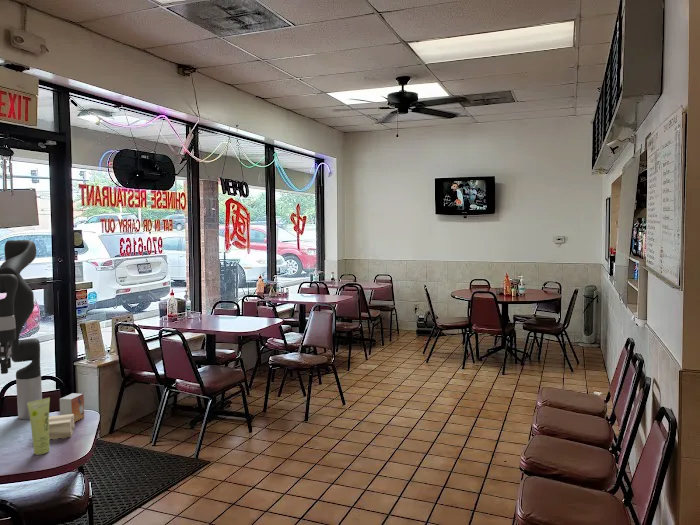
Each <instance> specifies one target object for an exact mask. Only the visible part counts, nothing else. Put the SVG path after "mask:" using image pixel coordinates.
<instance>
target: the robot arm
mask: <svg viewBox="0 0 700 525" xmlns="http://www.w3.org/2000/svg"><path fill="white" fill-rule="evenodd" d="M36 257H37V246H36V244H35V242H34V241H33V240H31V239H9V240H6V241H5V244H4V261H3V262H2V263H1V265H0V294H6V295H5V297H3V298H0V374H1V375H6V374H8V373H9V369H11V368H12V362H13V363H22V362H23V363H24V362H30V363H29V364H28V365H26V366H24V367H22V368H19V369H18V370H16V373H15V383H16V398H17V399H16V401H17V402H16V403H17V404H16V405H17V417H18V419H20V420H30V416H29V410H28V406H27V402H32V401H36V400H41V399H43V392H42V389H43V388H42V375H41V374H42V372H41V344H40V340H39V339H38V338H28V339H27V338H24V339H20V334H21V331H22V329H23V328H24V326H25V324H26V323H27V321H28V320H29V318H30V316H31V315H32V314H33V312H34V309H35V299H34V298H35V297H34V291H33V290H32V288H31V286H30V285H29V284H28V283H27V281H26V280H25V279H24V278H23V277H22V275H21V272H22V271H23V270H25V268H27V267H28V266H29V265H30V264H31V263H32V262H34V260H35V259H36Z"/></svg>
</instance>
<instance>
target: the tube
mask: <svg viewBox="0 0 700 525" xmlns="http://www.w3.org/2000/svg"><path fill="white" fill-rule="evenodd" d="M50 402H51V397H45V398H42V399H41V400H36V401H32V402H27V406H28V410H29V416H30V419H29V421H30V427H31V435H32V445H33V453H34V454H35V455H38V456H40V455H45V454H47V453H48V452H50V440H49V416H50V404H51V403H50Z"/></svg>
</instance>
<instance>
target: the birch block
mask: <svg viewBox="0 0 700 525" xmlns="http://www.w3.org/2000/svg"><path fill="white" fill-rule="evenodd" d="M73 430H74V431H75V423H74V414H67V415H49V441H51V440H50V439H53V440H59V439H58V438H62V439H68V438H67V437H70V438H72V436H73V433H74V431H73ZM71 435H72V436H71Z"/></svg>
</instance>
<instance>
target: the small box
mask: <svg viewBox="0 0 700 525" xmlns="http://www.w3.org/2000/svg"><path fill="white" fill-rule="evenodd" d="M84 398H85V397H84V393H76V392H75V393H74V392H72V393H70V394H68V395H65V396H63V397H61V398H59V414H60V415H67V414H74V424H75V423H77V422H78V420H79V421H81V420H83V419H85V401H84V400H85V399H84ZM82 418H83V419H82ZM80 419H81V420H80ZM76 421H77V422H76Z"/></svg>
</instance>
